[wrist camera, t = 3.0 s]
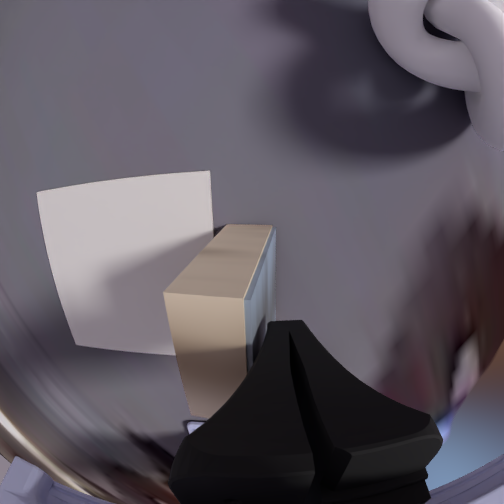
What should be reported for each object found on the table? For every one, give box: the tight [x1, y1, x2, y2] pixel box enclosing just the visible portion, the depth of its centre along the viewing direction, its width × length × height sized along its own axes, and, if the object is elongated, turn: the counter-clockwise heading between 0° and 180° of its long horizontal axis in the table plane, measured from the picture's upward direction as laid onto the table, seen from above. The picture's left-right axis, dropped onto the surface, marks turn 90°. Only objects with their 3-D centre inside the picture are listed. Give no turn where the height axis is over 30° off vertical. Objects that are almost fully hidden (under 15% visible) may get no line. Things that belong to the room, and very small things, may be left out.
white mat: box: [37, 171, 214, 355], centre depth 17 cm, size 12×12×1 cm
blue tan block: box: [163, 224, 276, 418], centre depth 13 cm, size 6×3×8 cm, turn 2°
